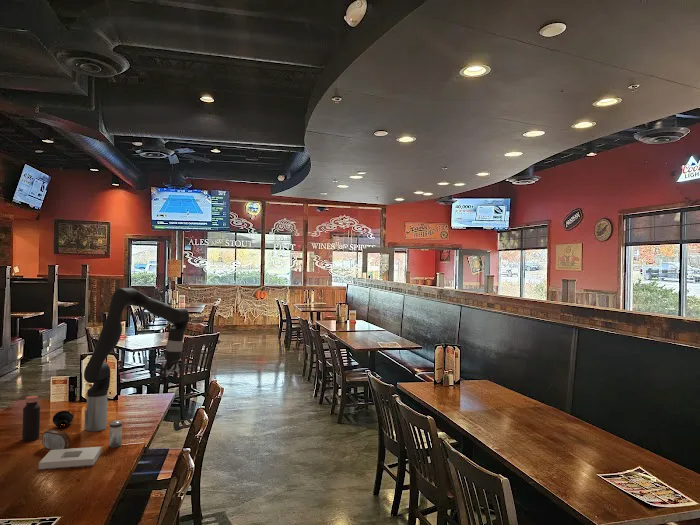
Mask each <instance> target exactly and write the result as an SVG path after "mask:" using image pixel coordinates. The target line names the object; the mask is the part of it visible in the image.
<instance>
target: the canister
mask: <svg viewBox="0 0 700 525" xmlns="http://www.w3.org/2000/svg"><path fill="white" fill-rule="evenodd" d="M122 431H123V420H122V419H121V420H120V419H118V420H117V419H116V420H111V421H110V422H109V444H108V445H109V448H112V449H114V448H115V447H116V448H119V446H120V447H121V446H122V443H123V442H122V441H123V440H122V439H123V438H122V437H123V434H122V433H123V432H122Z"/></svg>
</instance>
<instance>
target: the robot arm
mask: <svg viewBox="0 0 700 525" xmlns="http://www.w3.org/2000/svg"><path fill="white" fill-rule="evenodd" d="M130 306H131V307H132V306H134V307H139V308H143V309H145V310H146V311H147V312H148V313H149V314H152V315H153V316H157V317H159V318H162V319H164V320H165V321H168V322H170V323H172V324H173V326H172V327H170V328H169V330H168V335H167V342H166V345H165V353H164V359H165V361H166V362H162V363H161V365H160V371H159V376H160V377H161V385H164V386H166V385H167V384H168V378H169V377H168V376H169V374H171V373H172V372H173V373H172V382H178V378H179V377H178V376H179V375H180V373H182V371H183V370H182V368H183V359H182V355H183V354H182V353H183V347H184V336H185V334H184V333H185V330H186V329H187V326H188V324H189V320H190V314H189V311H188V310H187V308H183V307H181V308H176V307H175V308H174V307H172V305H170V303H169V304H168V303H166V302H163V301H160V300H157V299H154V298H152V297H150V296H147V295H145V294H144V293H143V292H140V291H139V290H137V289H136V288H132V287H121V288H117V289H116V290H115V291H114V292H113V294H112V296H111V300H110V304H109V308H108V311H107V314H106V318H105V321H104V323H103V326H102V329H101V331H100V334H99V335H98V336H99V337H98V338H97V342H96V344H95V347H94V349H93V353H92V354H91V356H90V358H89V360H88V362H87V364H86V366H85V369H84V371H83V379H84V380H85V382H86V383H88V384H92V385H91V387H90V388H88V389H87V391H86V410H84V430H86V431H87V432H100V431H104V430H106V429H107V424H108V423H107V422H108V420H107V419H108V415H107V414H108V392H109V388H110V384H111V368H110V365H109V364H108V363H107V362H105V360H106V359H107V357H108V356H109V355H110V354H111V353H112V351H114V349H116V347H117V346H118V344H119V341H120V338H121V337H122V336H121V335H122V333H123V326H122V320H121V319H122V314H123V312H124V310H125V307H130Z"/></svg>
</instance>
